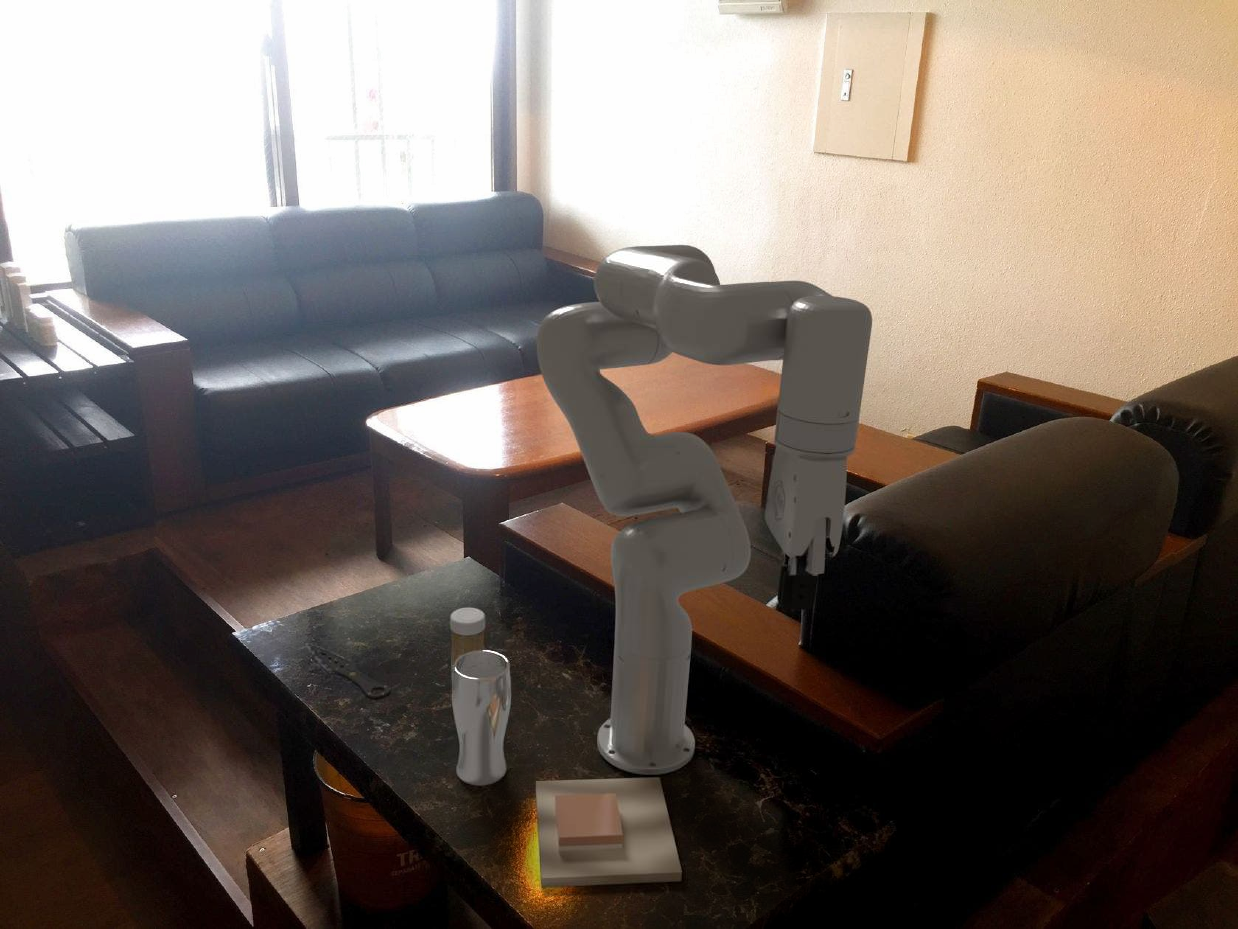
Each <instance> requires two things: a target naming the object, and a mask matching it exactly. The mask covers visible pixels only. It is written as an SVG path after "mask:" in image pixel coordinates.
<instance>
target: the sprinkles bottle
mask: <svg viewBox="0 0 1238 929" xmlns="http://www.w3.org/2000/svg"><path fill="white" fill-rule="evenodd" d="M449 620H450V625H449V626H450V628H449V629H450V630H451V656H450V657H451V660H450V661H451V662H450V663H451V664H450V665H451V671H450V672H451V673H450V674H451V680H450V681H451V686H452V685H453V674H454V663H455V661H456V660H457V658H459V657H460V656H461V655H463V654H465V653H468V652H472V651H479V650H485V646H484V642H485V639H484V636H485V635H484V633H485V628H486V615H485V613H484V612H483V610H481V609H478V608H477V607H476V608H475V607H462V608H458V609H455V610H454V611H453V612H452V613H451V615H450V619H449ZM450 701H451V703H452V696H451V698H450ZM452 705H453V703H452Z"/></svg>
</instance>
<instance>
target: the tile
mask: <svg viewBox="0 0 1238 929" xmlns="http://www.w3.org/2000/svg"><path fill="white" fill-rule="evenodd" d="M555 817H556V829H557V841H558V851H568V850H593V849H618V848H622V841H623V833H622V827H621V821H620V815H619V810H618V804H617V798H616V794H586V795H556V796H555Z"/></svg>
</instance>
